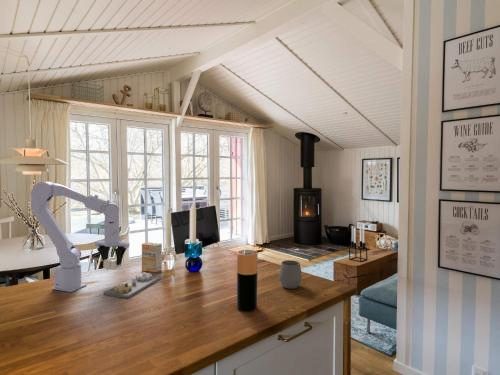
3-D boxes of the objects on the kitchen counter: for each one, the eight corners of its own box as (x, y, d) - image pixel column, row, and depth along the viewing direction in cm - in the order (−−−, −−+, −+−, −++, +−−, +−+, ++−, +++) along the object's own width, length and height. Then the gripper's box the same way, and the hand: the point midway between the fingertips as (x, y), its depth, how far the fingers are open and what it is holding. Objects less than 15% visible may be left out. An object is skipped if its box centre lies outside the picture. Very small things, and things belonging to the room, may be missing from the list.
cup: (301, 283, 138) (301, 260, 138) (302, 291, 129) (302, 266, 129) (278, 282, 139) (279, 259, 139) (278, 290, 130) (279, 265, 129)
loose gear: (101, 269, 133) (101, 260, 133) (112, 264, 139) (112, 256, 139) (112, 270, 131) (112, 261, 131) (123, 265, 138) (123, 257, 138)
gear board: (103, 294, 124) (103, 285, 124) (139, 276, 145) (139, 268, 145) (128, 298, 121) (128, 288, 120) (160, 279, 142) (160, 270, 141)
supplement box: (141, 271, 152) (140, 243, 151) (147, 268, 157) (147, 241, 156) (156, 273, 150) (156, 245, 149) (162, 270, 154) (162, 243, 154)
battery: (239, 313, 109) (239, 254, 108) (234, 304, 116) (235, 249, 115) (259, 310, 111) (260, 253, 110) (253, 302, 118) (254, 248, 117)
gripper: (89, 232, 132) (90, 265, 133) (122, 234, 129) (122, 268, 130) (101, 229, 139) (101, 260, 140) (131, 231, 136) (132, 263, 137)
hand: (112, 264), depth 135 cm, fingers closed on loose gear, 5 cm apart
